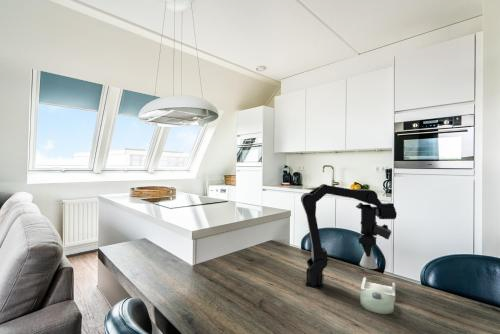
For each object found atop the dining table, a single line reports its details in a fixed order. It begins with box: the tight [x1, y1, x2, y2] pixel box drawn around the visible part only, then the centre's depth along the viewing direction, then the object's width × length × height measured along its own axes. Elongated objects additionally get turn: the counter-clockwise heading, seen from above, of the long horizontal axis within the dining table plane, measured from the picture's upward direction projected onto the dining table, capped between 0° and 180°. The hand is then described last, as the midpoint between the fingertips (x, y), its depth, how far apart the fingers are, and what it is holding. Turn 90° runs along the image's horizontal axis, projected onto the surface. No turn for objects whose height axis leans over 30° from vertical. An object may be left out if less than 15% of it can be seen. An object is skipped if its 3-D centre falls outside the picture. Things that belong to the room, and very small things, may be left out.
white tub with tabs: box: [359, 276, 396, 315], centre depth 100 cm, size 12×23×4 cm, turn 151°
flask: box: [359, 248, 378, 270], centre depth 109 cm, size 7×7×10 cm
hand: (368, 255), depth 109 cm, fingers closed on flask, 3 cm apart
